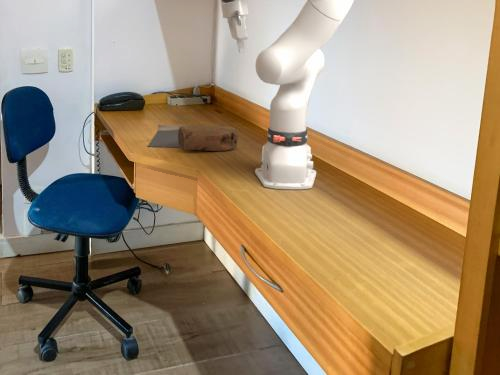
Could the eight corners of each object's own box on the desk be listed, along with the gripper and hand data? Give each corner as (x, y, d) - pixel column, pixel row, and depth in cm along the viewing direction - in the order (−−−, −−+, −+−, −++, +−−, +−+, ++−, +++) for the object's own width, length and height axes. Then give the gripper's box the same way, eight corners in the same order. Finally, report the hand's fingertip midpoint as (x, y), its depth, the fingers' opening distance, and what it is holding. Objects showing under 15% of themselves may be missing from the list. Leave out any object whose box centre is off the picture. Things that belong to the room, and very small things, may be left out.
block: (177, 123, 210) (232, 124, 216) (176, 144, 212) (230, 144, 219) (184, 131, 200) (241, 132, 207) (183, 153, 203) (239, 153, 209)
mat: (198, 148, 211) (198, 147, 211) (147, 147, 211) (147, 146, 211) (204, 132, 234) (204, 131, 234) (157, 131, 234) (157, 130, 234)
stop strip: (204, 132, 234) (204, 126, 233) (157, 131, 234) (157, 125, 233) (204, 131, 236) (204, 125, 235) (158, 130, 236) (158, 124, 235)
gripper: (247, 9, 191) (254, 53, 195) (241, 9, 210) (248, 49, 214) (228, 12, 190) (235, 56, 195) (224, 12, 210) (230, 52, 214)
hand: (242, 52), depth 205 cm, fingers closed
